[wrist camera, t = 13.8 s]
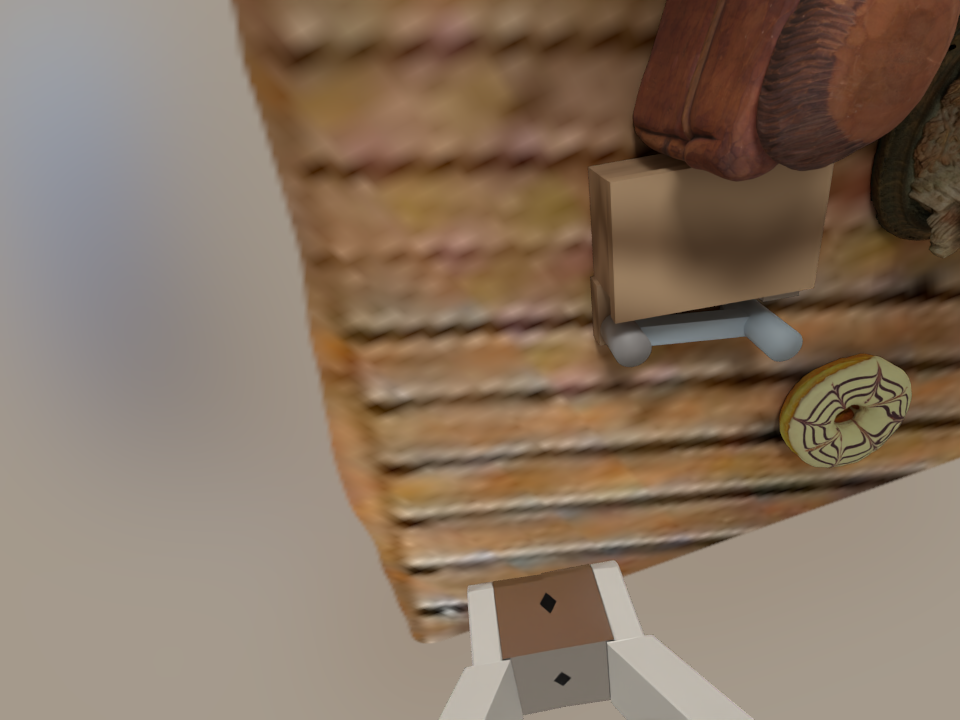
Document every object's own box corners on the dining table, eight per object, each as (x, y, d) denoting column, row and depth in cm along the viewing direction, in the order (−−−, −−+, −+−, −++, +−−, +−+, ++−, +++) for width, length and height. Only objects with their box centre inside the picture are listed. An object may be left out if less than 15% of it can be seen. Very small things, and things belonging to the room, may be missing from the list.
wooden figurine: (699, 156, 38) (892, 233, 22) (613, 135, 37) (752, 201, 21) (782, -51, 32) (1113, -142, 17) (683, -84, 31) (941, -214, 16)
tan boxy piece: (580, 160, 37) (610, 182, 31) (770, 126, 37) (837, 141, 31) (591, 335, 44) (617, 381, 38) (752, 306, 44) (804, 348, 38)
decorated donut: (905, 399, 50) (939, 424, 47) (799, 464, 53) (824, 492, 50) (865, 325, 46) (900, 346, 43) (752, 400, 49) (776, 426, 45)
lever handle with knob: (593, 333, 44) (619, 379, 38) (594, 303, 42) (622, 345, 36) (748, 318, 44) (798, 360, 38) (754, 287, 43) (807, 327, 37)
